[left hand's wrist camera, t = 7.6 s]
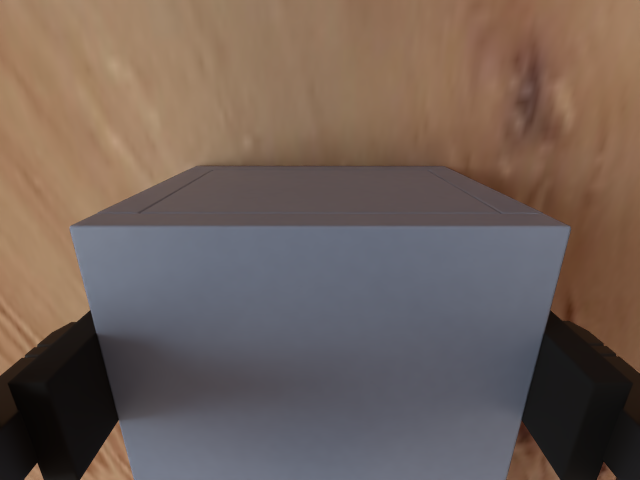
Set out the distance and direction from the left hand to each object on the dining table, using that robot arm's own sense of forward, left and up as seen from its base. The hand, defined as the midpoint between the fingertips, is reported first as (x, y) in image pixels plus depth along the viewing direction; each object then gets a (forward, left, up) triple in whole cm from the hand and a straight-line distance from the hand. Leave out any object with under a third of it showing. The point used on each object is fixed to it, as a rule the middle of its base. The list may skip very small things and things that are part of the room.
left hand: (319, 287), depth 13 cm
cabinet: (+3, +4, -3) cm, 6 cm away
